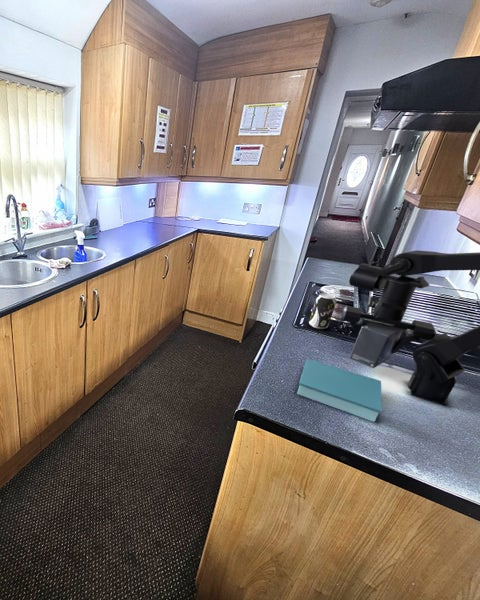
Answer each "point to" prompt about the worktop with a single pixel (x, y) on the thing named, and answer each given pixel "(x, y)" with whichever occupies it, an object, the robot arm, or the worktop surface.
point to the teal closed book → (341, 389)
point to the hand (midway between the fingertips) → (374, 348)
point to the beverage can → (322, 311)
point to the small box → (375, 344)
